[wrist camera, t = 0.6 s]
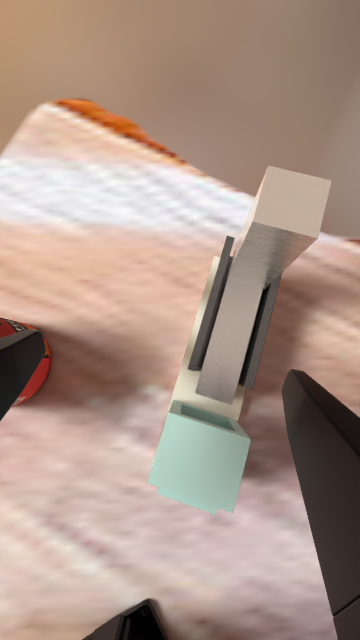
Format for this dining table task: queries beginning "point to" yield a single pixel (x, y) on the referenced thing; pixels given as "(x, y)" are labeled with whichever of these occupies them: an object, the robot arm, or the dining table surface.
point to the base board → (189, 378)
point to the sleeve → (258, 327)
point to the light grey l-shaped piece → (259, 270)
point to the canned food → (9, 327)
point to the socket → (200, 458)
